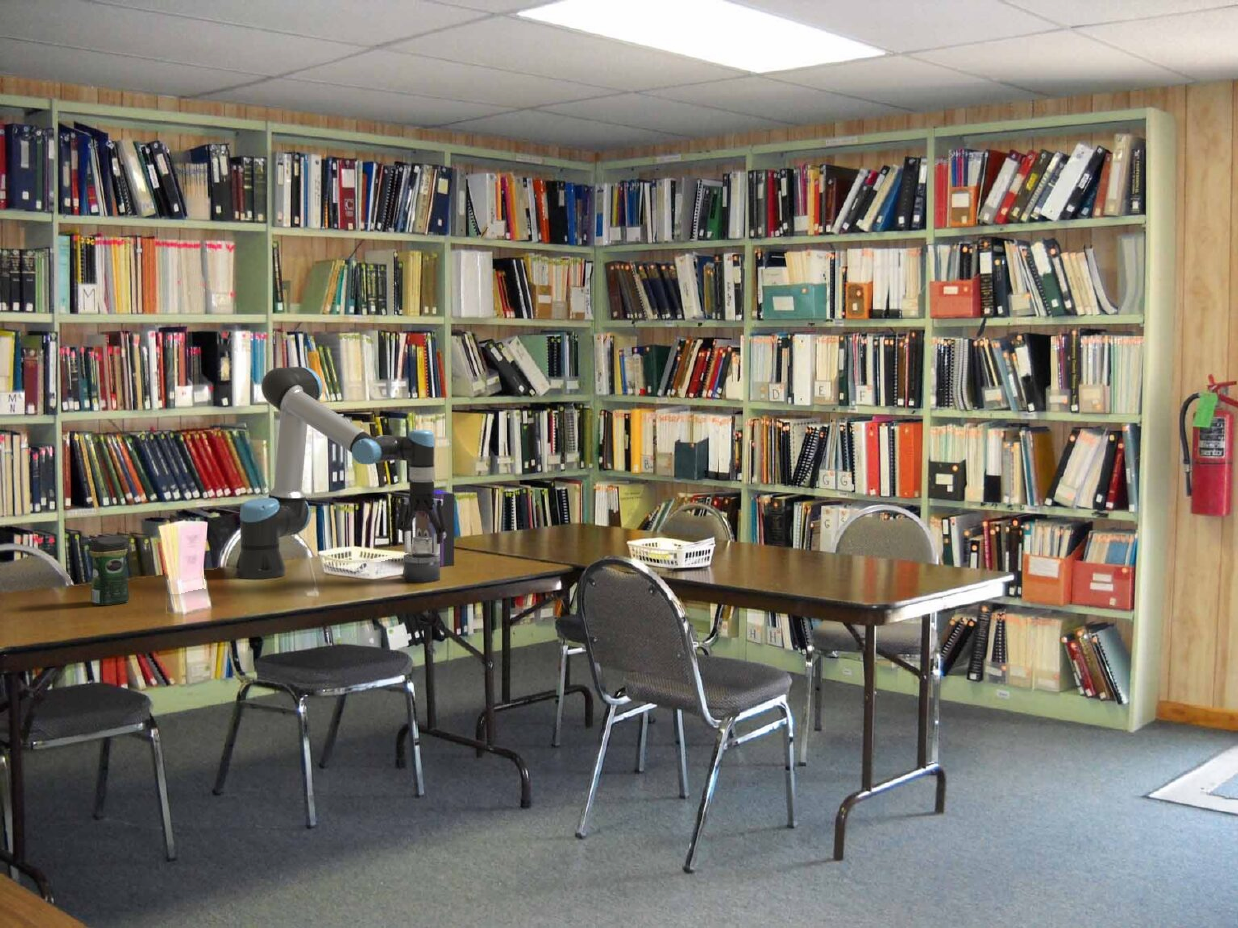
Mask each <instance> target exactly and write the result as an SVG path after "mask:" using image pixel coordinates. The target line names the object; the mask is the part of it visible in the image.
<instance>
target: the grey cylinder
mask: <svg viewBox="0 0 1238 928" xmlns="http://www.w3.org/2000/svg"><path fill="white" fill-rule="evenodd" d="M411 538H412V539H411V553H412V557H417V558H427V557H432V537H426V536H420V537H415V536H413V537H411Z"/></svg>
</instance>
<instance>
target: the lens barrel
mask: <svg viewBox="0 0 1238 928" xmlns="http://www.w3.org/2000/svg"><path fill="white" fill-rule="evenodd" d="M403 570H404V576H403V580H404V582H408V583H413V584H414V583H415V584H422V583H423V584H425V583H427V584H428V583H435V582H439V581H440V580H441V567H440V554H437V555H434V553H432V557H427V558H417V557H412V552H409V553H405V554H403Z"/></svg>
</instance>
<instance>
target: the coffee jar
mask: <svg viewBox="0 0 1238 928" xmlns="http://www.w3.org/2000/svg"><path fill="white" fill-rule="evenodd" d="M127 553H128V545H127V540H126V538H125V537H124V536H120V535H111V536H110V535H107V536H100V537H95V538H91V539H90V543H89V555H90V557H91V559H92V561H91V562H92V575H91V576H92V578H91V579H92V580H91V589H90V590H91V591H90V601H91V603H92V604H93V605H94V606H98V605H99V606H111V605H112V606H113V605H119V604H123V603H127V602H128V601H129V600H130V593H129V591H130V590H129V585H128V577H127V571H126V570H127V569H126V557H127Z"/></svg>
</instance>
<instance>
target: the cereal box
mask: <svg viewBox="0 0 1238 928" xmlns="http://www.w3.org/2000/svg"><path fill="white" fill-rule="evenodd" d="M434 497H435V499H439V500H440V499H443V500H444V506H443V507H444V511H445V516H446V521H447V525H448V531H445V532H443V533H442V543H441V544H440V568H445V567H454V566H455V493H453V492H448V491H442V490H436V489H434ZM432 506H433V508H434V512H435V514H436V516H437V519H438V521H439V517H438V512H437V506H436V505H435V503H434V504H433V505H432ZM414 519H415V520H414V522H415V523H414V533H415V534H414V535H415V536H414V537H420V536H426V537H432V553H434V534H435V533H436V531H435V529H434V527H433V525H432V522H431V520H430V518H429V516H428V514H427V513H426V511H421V510H420V511H418V512H417V513H416V515H415V517H414ZM439 523H440V522H439Z"/></svg>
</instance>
